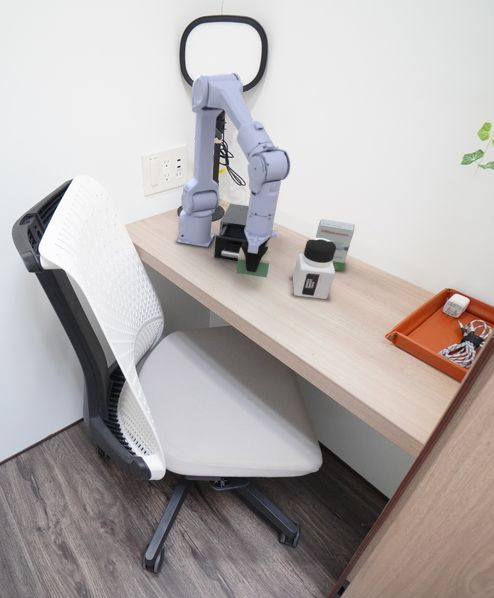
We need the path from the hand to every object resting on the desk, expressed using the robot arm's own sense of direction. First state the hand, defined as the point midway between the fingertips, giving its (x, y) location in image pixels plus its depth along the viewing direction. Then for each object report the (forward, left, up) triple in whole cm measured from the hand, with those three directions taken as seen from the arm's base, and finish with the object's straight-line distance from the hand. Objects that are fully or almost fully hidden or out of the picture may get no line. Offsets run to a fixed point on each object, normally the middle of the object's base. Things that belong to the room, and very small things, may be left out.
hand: (252, 265), depth 85 cm
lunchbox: (0, 0, -1) cm, 1 cm away
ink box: (+18, +19, -7) cm, 27 cm away
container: (+14, +5, -7) cm, 17 cm away
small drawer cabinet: (-6, +26, -7) cm, 27 cm away
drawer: (-6, +15, -6) cm, 17 cm away
